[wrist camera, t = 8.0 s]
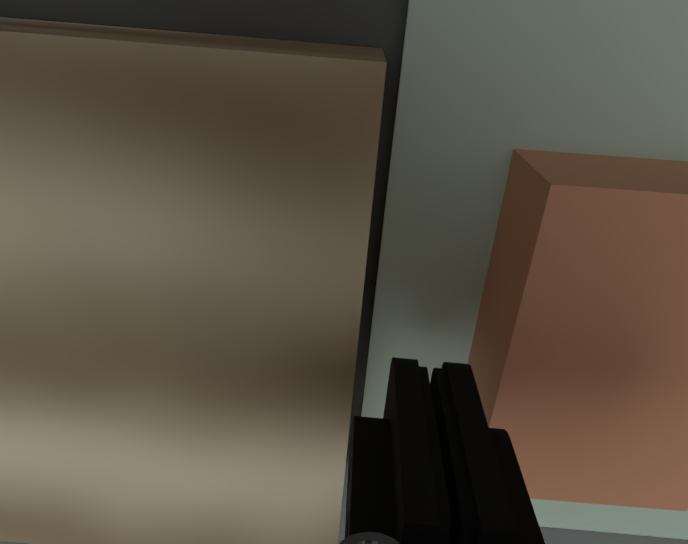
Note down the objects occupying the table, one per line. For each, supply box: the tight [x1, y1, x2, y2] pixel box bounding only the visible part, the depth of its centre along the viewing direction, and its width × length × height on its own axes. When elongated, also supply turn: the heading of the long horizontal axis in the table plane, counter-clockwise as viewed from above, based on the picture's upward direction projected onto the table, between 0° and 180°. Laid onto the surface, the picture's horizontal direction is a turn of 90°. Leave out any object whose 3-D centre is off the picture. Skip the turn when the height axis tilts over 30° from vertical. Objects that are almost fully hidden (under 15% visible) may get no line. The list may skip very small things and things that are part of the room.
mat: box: [361, 0, 688, 539], centre depth 15 cm, size 18×14×1 cm
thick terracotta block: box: [468, 149, 688, 511], centre depth 14 cm, size 9×6×3 cm, turn 176°
